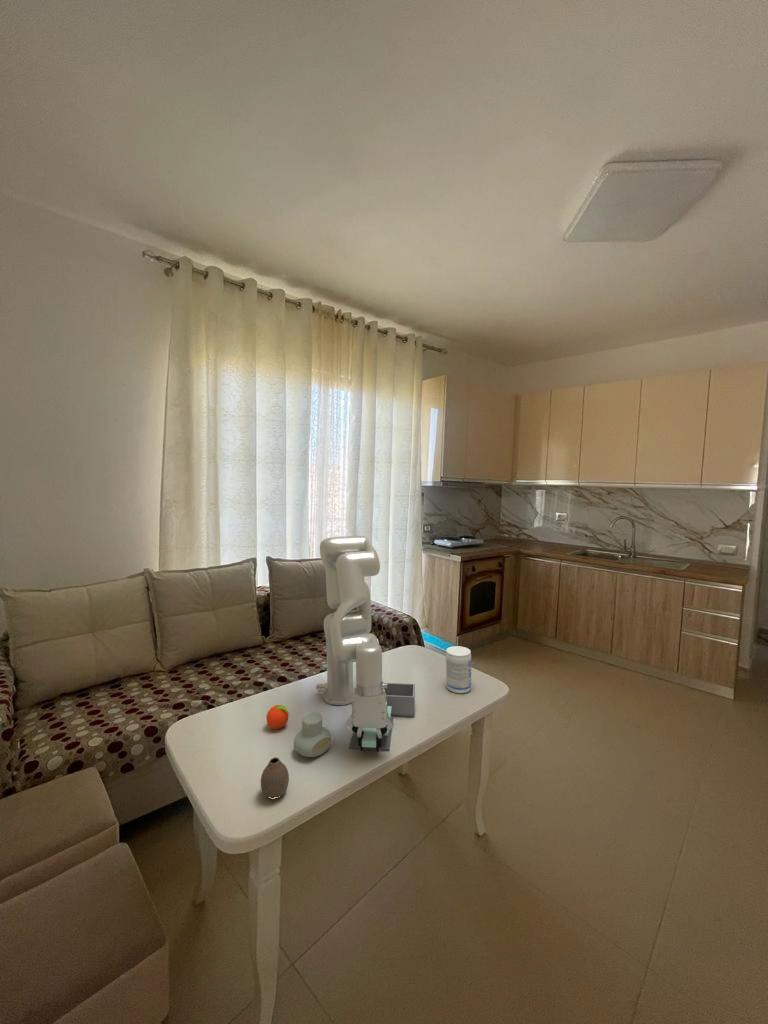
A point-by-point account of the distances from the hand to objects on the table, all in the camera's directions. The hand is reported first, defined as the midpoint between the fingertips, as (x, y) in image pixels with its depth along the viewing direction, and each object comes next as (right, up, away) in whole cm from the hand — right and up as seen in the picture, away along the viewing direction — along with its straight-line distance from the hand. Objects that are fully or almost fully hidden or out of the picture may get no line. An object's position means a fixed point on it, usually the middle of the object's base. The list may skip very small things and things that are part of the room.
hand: (370, 747), depth 115 cm
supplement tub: (+33, +1, +37) cm, 50 cm away
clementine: (-30, -1, +13) cm, 33 cm away
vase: (-24, -3, -15) cm, 28 cm away
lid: (+1, +2, +7) cm, 7 cm away
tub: (+8, 0, +23) cm, 24 cm away
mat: (0, -1, +10) cm, 10 cm away
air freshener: (-17, -2, +2) cm, 17 cm away
